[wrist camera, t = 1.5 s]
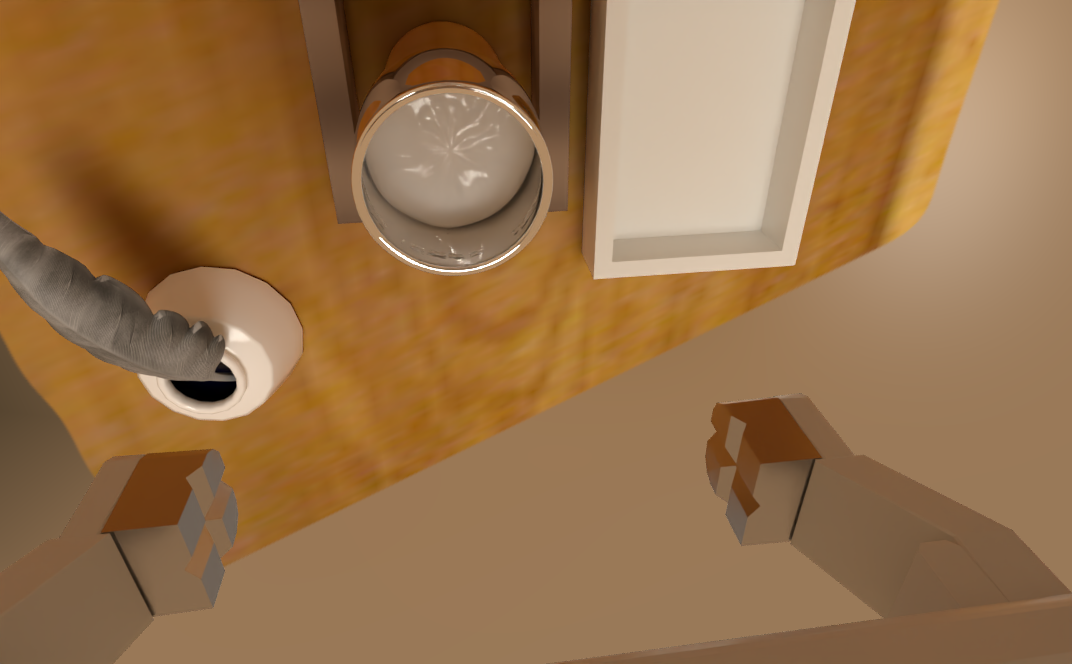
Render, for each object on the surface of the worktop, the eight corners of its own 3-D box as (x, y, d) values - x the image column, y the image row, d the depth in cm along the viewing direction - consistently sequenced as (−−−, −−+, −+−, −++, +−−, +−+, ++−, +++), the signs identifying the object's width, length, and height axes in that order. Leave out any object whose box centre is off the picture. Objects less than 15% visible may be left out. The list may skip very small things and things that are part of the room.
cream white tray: (592, -51, 32) (609, -48, 29) (828, -54, 33) (867, -51, 30) (581, 252, 40) (593, 279, 37) (769, 240, 42) (794, 265, 39)
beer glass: (348, 94, 34) (300, 204, 21) (430, -23, 31) (431, 22, 19) (457, 177, 37) (472, 315, 24) (539, 75, 34) (602, 171, 22)
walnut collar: (302, -48, 30) (290, -44, 28) (561, -51, 31) (573, -47, 29) (344, 202, 37) (338, 223, 34) (558, 190, 38) (567, 210, 35)
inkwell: (210, 414, 43) (157, 535, 35) (-26, 171, 33) (-179, 259, 25) (334, 357, 42) (311, 468, 34) (128, 90, 32) (23, 153, 24)
